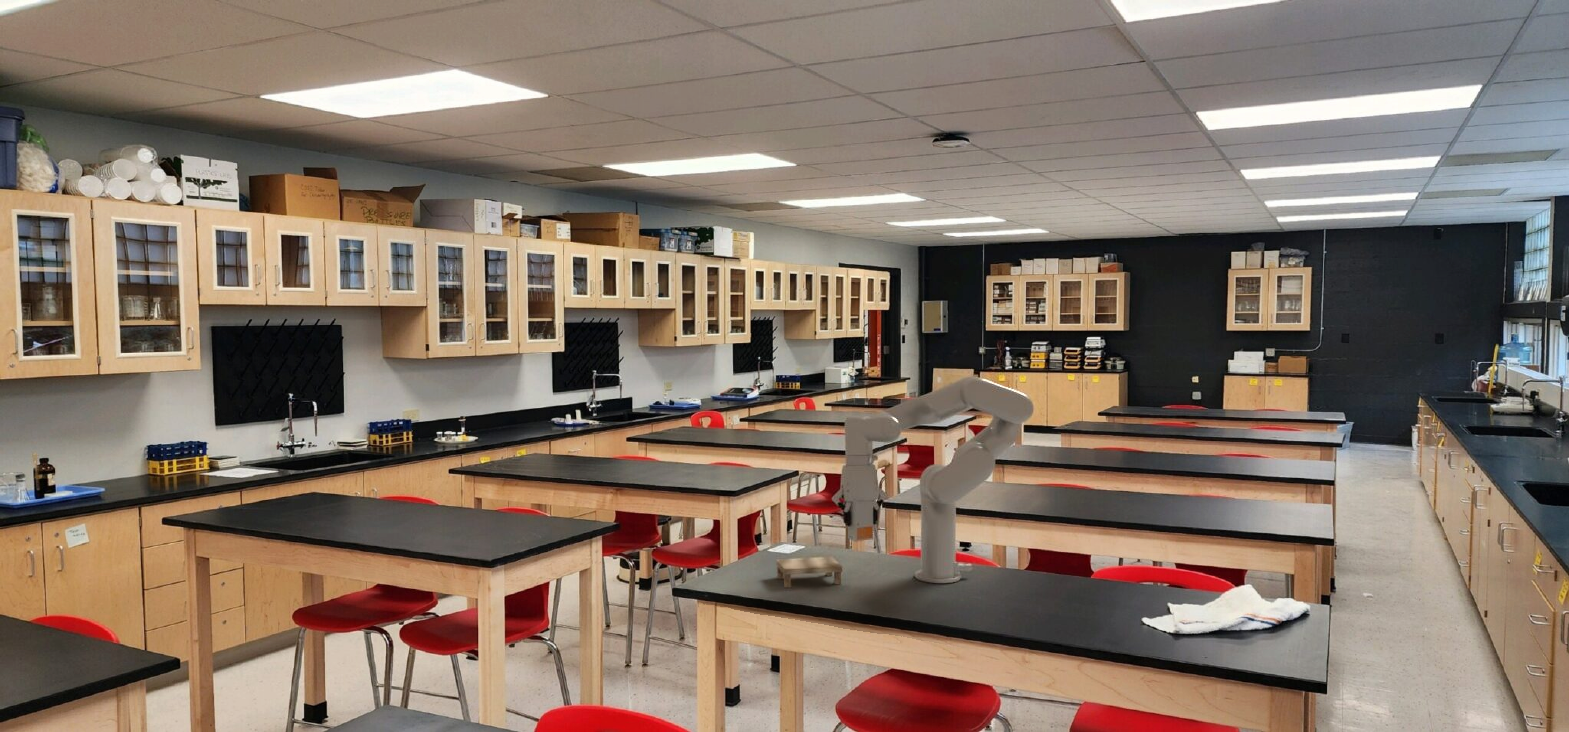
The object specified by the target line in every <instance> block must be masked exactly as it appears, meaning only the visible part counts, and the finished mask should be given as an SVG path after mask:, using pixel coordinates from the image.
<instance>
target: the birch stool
mask: <svg viewBox="0 0 1569 732" xmlns="http://www.w3.org/2000/svg"><path fill="white" fill-rule="evenodd" d="M775 564H776V565H775V566H776V578H777V579H778V580H782V579H783V586H784V588H791V587H792V581H791V580H792V575H803V574H804V575H806V574H807V575H808V574H823V573H824V574H825V576H826V575H827V576H826V577H832V576H833V575H834V576H833V584H834V585H836V584H837V585H842V573H843V566H842V564H840V563H839V562H838V561H837V560H836V559H834V557H832V556H819V557H802V558H801V557H799V558H780V559H779V558H778V559H776V560H775Z"/></svg>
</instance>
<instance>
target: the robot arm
mask: <svg viewBox="0 0 1569 732" xmlns="http://www.w3.org/2000/svg"><path fill="white" fill-rule="evenodd" d="M971 409H975V410H977V411H980V412H983V413H985V414H987V415H990V416H992V419H991V421H990V423H989V424H988V425H987V426H986V427H984V428H983V429H982V430H981V431H980V432H978V433H977V434H976V435H974V436H973V437H972V438H971V439H968V441H967V440H966V442H964V443H963V444H961V445H960V446H959V447H958V448H957V449H955V451H954V453H953V456H952V461H951V462H950V463H948V464H947V465H944V464H938V463H935V464H930V465H929V466H927V467H926V468H925V469H924V470H923V472H922V473H921V476H920V479H919V493H920V513H921V515H920V516H921V518H920V519H921V521H920V569H918V570H916V571H915V572H914V573H915V574H914V576H915V578H916V579H917V580H919V581H921V582H924V583H925V582H926V583H930V584H931V583H933V584H951V583H955V582H959V581H960V580H961V579H962V578H961V577H962V575H961V572H962V571H963V572H967V571H972V570H973V565H972V563H964V562H958V561H956V536H957V534H956V531H957V530H956V525H957V524H956V523H957V521H956V520H957V517H956V516H957V513H956V512H957V509H956V507H957V506H956V502H959V500H961V499H962V498H964V497H965V496H967V495H968V494H970V492H972V491H974V490H975V489H977V487H980V485H981V484H983V483H984V482H986V481H987V480H988V479H989V478H990V477H991V476H992V474H993V473H994V470H995V467H996V460H997V459H998V458H1000V456H1003V454H1004V453H1006V452H1007V450H1008V451H1009V450H1010V448H1012V446H1013V445H1014V444H1015V443H1016V441H1017V439H1018V437H1019V435H1020V432H1021V428H1022V425H1023V424H1024V423H1026V422H1027V421H1029V420H1030V419H1031V417H1032V416H1033V413H1034V403H1033V401H1032V399H1031V398H1030V397H1029V396H1028V395H1027V394H1025V393H1023V392H1020V391H1018V390H1015V389H1012V388H1010V387H1006V386H1004V385H1001V384H997V383H995V382H993V381H991V380H989V379H988V380H987V378H986V379H985V378H983V377H979V376H967V377H964V378H961V379H960V380H956V381H955V382H951V383H950V384H948V385H945V386H942V387H941V388H938V389H935V390H933V391H931V392H928V393H926V394H924V395H920V396H917V397H916V398H912V399H910V400H908V401H905V402H902V403H899V404H896V405H894V406H892V407H889V408H887V409H884V410H882V411H880V412H877V413H876V414H874V416H873V417H870V416H869V415H868V416H867V415H851V416H847V417H846V418H845V420H844V441H845V442H844V443H845V446H844V448H845V449H844V450H845V464H844V465H842V469H841V473H840V474H841V475H840V489H838V491H837V492H835V494H834V495H833V496H832V497H831V500H832V501H833V502H834V503H835V504H836V505H837V507H838V508H840V509H841V510H842V516H843V517H842V519H843V520H842V522H843V523H844V524H845V526H847V527H848V526H851V519H850V512H849V508H850V506H851V503H852V502H854V498H863V499H864V501H872V504H873V526H874V525H877V521H878V519H879V517H878V516H879V515H878V514H879V512H878V511H879V509H880V507H881V506H882V505H883V504H884V502H885V501H886V500H887V498H888V496H889V495H888V493H887V492H885V491H884V490H883V489H882V488H881V487H880V486H879V479H878V478H879V477H878V473H877V467H876V465H875V464H874V462H875V461H878V455H876V454H875V455H874V452H873V450H874V449H873V442H875V443H885V444H887V443H893V442H895V441H896V440H898V439H899V438H900V436H901V433H902V432H903V431H905V430H906V431H907V430H909V429H911V428H914V427H917V426H918V427H919V426H922V425H933V424H937V423H940V422H943V421H945V420H947V419H950V418H952V417H954V416H957V415H958V414H961V413H964V412H967V411H969V410H971ZM840 499H841V500H844V501H843V503H842V502H841V501H840Z"/></svg>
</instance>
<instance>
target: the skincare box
mask: <svg viewBox="0 0 1569 732" xmlns="http://www.w3.org/2000/svg"><path fill="white" fill-rule="evenodd" d="M849 512H850V519H851V526H847V539H848V540H850V541H852V542H861V541H868V540H869V541H870V540H874V524H873V504H872V501H864V499H863V498H854V502H852V503H851V506H850V508H849Z"/></svg>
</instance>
